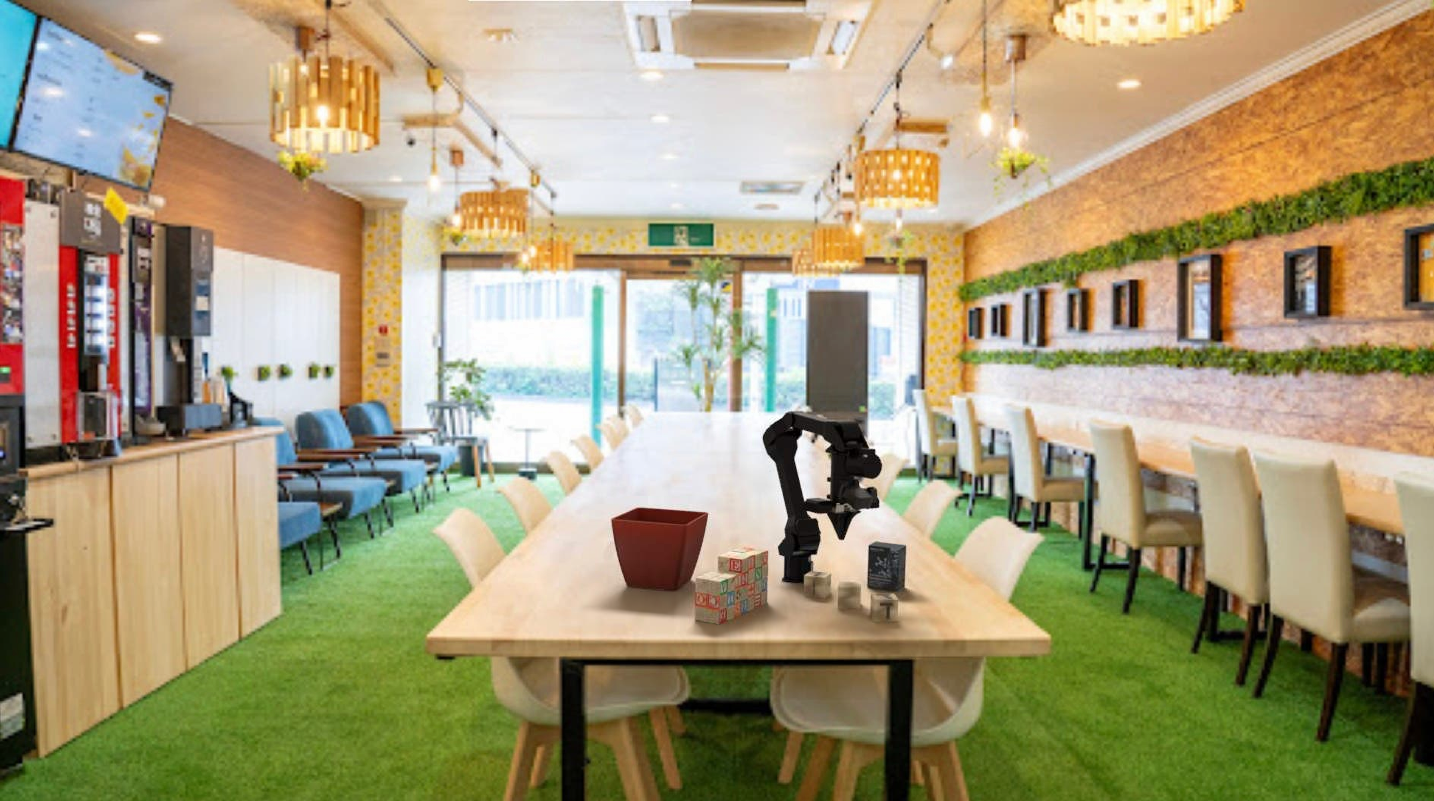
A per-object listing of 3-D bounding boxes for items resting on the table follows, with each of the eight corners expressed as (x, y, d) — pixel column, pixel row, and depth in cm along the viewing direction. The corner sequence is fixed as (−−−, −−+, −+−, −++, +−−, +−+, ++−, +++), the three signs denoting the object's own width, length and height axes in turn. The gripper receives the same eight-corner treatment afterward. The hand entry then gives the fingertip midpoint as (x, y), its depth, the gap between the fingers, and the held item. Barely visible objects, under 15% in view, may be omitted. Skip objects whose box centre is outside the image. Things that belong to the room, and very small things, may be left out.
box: (866, 587, 231) (867, 544, 231) (874, 582, 236) (875, 540, 236) (897, 592, 227) (899, 548, 227) (905, 587, 232) (906, 544, 232)
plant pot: (708, 577, 239) (709, 511, 238) (685, 596, 220) (686, 524, 219) (636, 571, 244) (637, 506, 243) (608, 589, 226) (609, 519, 225)
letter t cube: (874, 622, 202) (874, 599, 202) (870, 615, 208) (870, 592, 207) (897, 622, 203) (898, 599, 202) (893, 615, 208) (893, 593, 207)
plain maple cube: (837, 608, 213) (837, 586, 212) (838, 602, 218) (838, 581, 217) (860, 609, 212) (860, 587, 212) (860, 604, 217) (861, 582, 216)
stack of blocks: (719, 625, 198) (720, 567, 198) (694, 620, 202) (694, 563, 201) (767, 602, 217) (768, 549, 216) (743, 598, 220) (744, 545, 219)
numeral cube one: (803, 596, 223) (803, 575, 222) (810, 591, 228) (811, 570, 227) (823, 598, 221) (824, 577, 220) (830, 593, 226) (831, 572, 225)
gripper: (833, 480, 211) (832, 550, 212) (896, 475, 221) (894, 542, 222) (803, 474, 220) (801, 541, 221) (864, 470, 230) (862, 533, 231)
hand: (841, 539), depth 224 cm, fingers closed
